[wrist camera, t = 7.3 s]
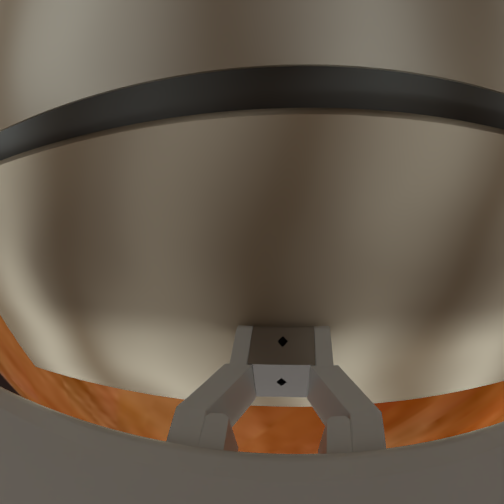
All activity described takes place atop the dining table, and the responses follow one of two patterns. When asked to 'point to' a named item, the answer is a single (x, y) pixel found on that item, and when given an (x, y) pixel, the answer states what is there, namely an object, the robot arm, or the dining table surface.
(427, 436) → the dining table surface
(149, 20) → the floor panel
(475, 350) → the loose plank
